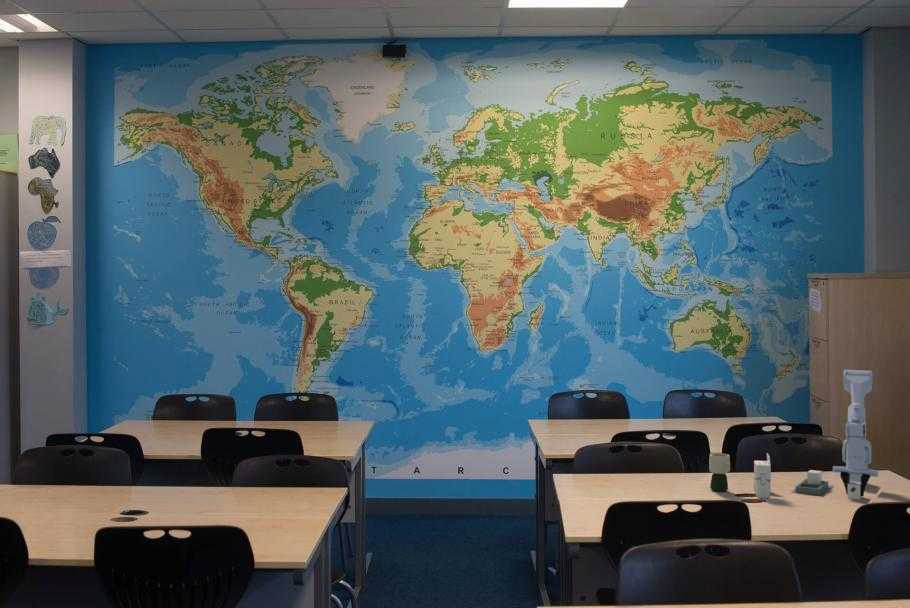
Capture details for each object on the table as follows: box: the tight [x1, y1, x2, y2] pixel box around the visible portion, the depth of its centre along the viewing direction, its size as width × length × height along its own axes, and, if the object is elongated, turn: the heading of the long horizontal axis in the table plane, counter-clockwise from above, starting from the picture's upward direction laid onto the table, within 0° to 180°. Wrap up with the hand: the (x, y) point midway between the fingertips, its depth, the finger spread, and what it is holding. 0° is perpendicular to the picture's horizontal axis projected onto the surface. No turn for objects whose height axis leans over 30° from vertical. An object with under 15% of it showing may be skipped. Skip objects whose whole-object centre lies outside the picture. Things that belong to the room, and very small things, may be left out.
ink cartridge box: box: [753, 452, 772, 499], centre depth 323 cm, size 9×5×15 cm, turn 168°
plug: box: [847, 481, 863, 501], centre depth 315 cm, size 7×4×6 cm, turn 147°
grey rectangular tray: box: [790, 478, 835, 498], centre depth 329 cm, size 20×11×3 cm, turn 147°
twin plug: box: [806, 469, 823, 485], centre depth 332 cm, size 7×4×6 cm, turn 147°
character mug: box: [708, 452, 731, 492], centre depth 331 cm, size 11×7×13 cm, turn 23°
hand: (854, 494), depth 316 cm, fingers closed on plug, 4 cm apart
